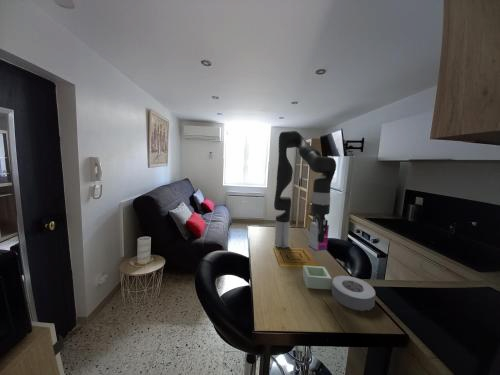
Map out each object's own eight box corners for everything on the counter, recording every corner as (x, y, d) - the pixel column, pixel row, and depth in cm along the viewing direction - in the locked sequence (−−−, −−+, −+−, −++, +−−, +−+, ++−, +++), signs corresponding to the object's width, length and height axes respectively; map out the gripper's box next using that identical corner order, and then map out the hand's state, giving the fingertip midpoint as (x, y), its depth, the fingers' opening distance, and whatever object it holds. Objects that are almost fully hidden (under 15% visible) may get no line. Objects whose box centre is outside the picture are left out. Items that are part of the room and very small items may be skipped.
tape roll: (363, 317, 67) (364, 303, 66) (324, 294, 79) (324, 282, 79) (381, 301, 76) (382, 289, 76) (343, 282, 88) (344, 271, 88)
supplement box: (315, 251, 82) (317, 225, 82) (308, 246, 88) (309, 221, 87) (327, 250, 84) (329, 224, 83) (319, 245, 90) (320, 221, 89)
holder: (302, 275, 93) (303, 265, 92) (323, 276, 92) (324, 266, 92) (307, 287, 83) (307, 276, 82) (330, 289, 82) (331, 278, 82)
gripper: (308, 199, 92) (306, 233, 93) (316, 204, 77) (313, 244, 79) (324, 200, 91) (322, 234, 93) (335, 205, 77) (332, 245, 78)
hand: (318, 239), depth 86 cm, fingers closed on supplement box, 7 cm apart
